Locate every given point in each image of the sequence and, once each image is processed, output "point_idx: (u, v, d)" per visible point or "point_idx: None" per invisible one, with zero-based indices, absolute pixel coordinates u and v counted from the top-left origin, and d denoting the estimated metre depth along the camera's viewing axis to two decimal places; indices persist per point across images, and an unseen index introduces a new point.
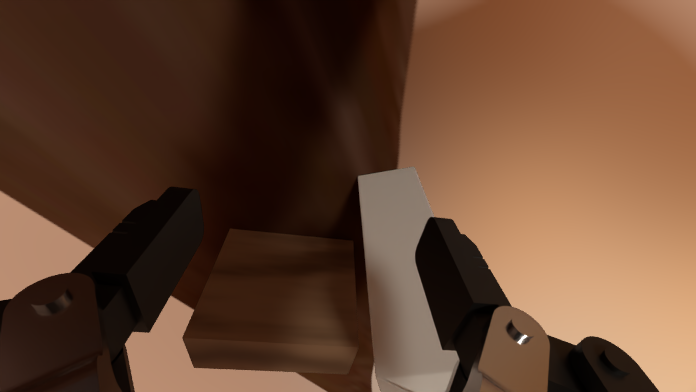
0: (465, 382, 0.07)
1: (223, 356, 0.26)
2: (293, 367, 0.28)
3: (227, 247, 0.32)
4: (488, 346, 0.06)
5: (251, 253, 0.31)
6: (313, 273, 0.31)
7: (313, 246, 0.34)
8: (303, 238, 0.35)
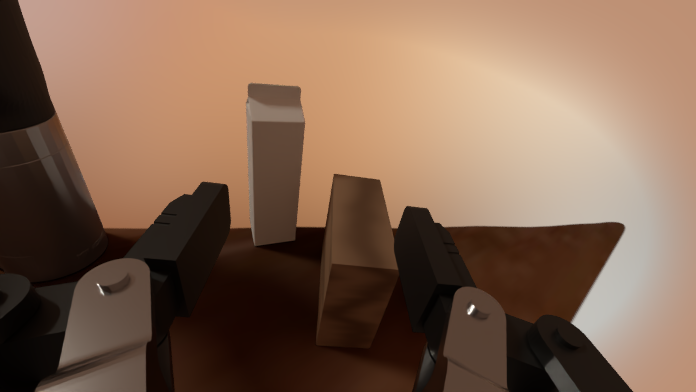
0: (434, 364, 0.07)
1: (366, 242, 0.26)
2: (376, 203, 0.32)
3: (319, 324, 0.30)
4: (451, 328, 0.06)
5: (321, 299, 0.32)
6: (325, 242, 0.36)
7: None
8: (320, 278, 0.38)
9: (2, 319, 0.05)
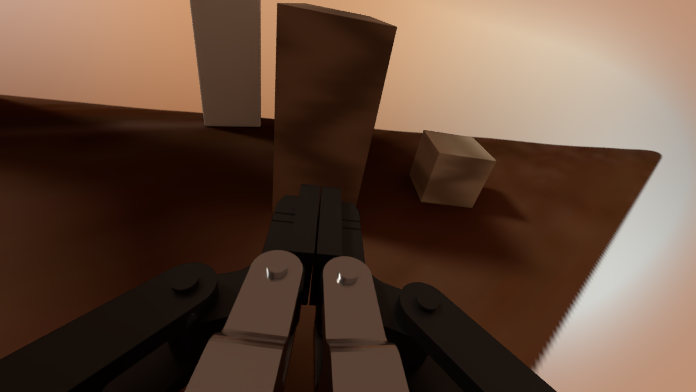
0: None
1: (342, 14, 0.16)
2: (362, 16, 0.22)
3: None
4: (328, 309, 0.06)
5: None
6: None
7: None
8: None
9: (208, 301, 0.06)
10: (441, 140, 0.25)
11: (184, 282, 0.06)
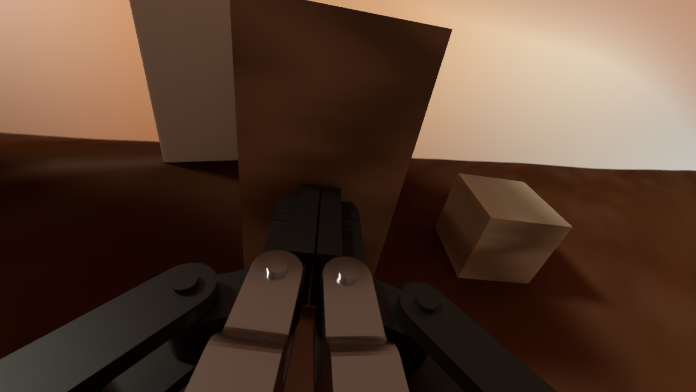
0: None
1: None
2: None
3: None
4: (328, 309, 0.06)
5: None
6: None
7: None
8: None
9: (208, 300, 0.06)
10: (486, 192, 0.18)
11: (184, 281, 0.06)
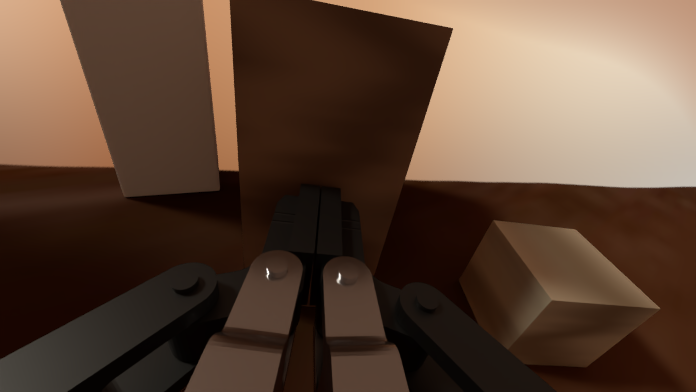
0: None
1: None
2: None
3: None
4: (328, 309, 0.06)
5: None
6: None
7: None
8: None
9: (208, 300, 0.06)
10: (535, 251, 0.14)
11: (184, 282, 0.06)
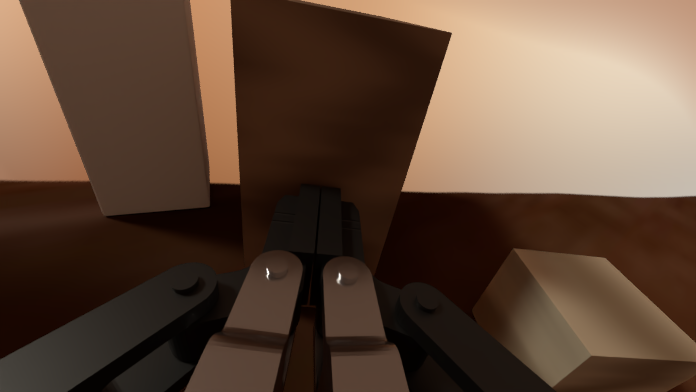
0: None
1: None
2: None
3: None
4: (328, 309, 0.06)
5: None
6: None
7: None
8: None
9: (208, 300, 0.06)
10: (564, 288, 0.12)
11: (184, 282, 0.06)
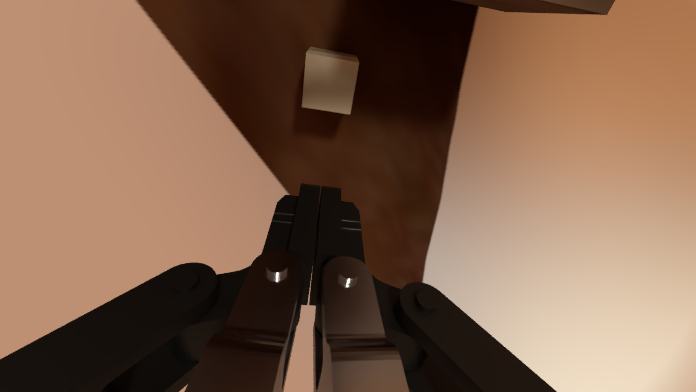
0: None
1: None
2: None
3: None
4: (328, 309, 0.06)
5: None
6: None
7: None
8: None
9: (208, 300, 0.06)
10: (334, 70, 0.27)
11: (184, 282, 0.06)
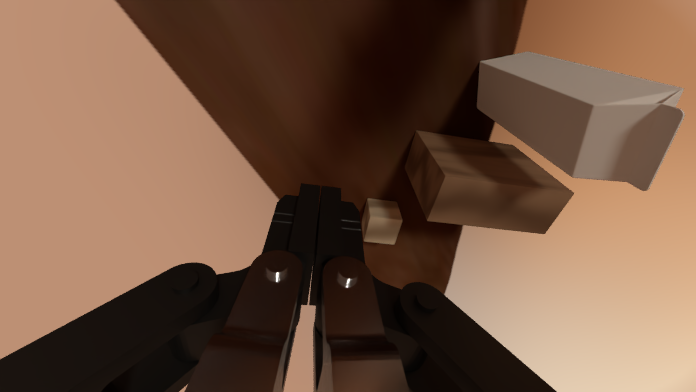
0: None
1: (460, 204, 0.31)
2: (506, 222, 0.33)
3: (425, 139, 0.38)
4: (328, 309, 0.06)
5: (446, 143, 0.38)
6: (502, 157, 0.37)
7: (486, 144, 0.40)
8: (474, 140, 0.41)
9: (208, 300, 0.06)
10: (386, 224, 0.43)
11: (184, 281, 0.06)
